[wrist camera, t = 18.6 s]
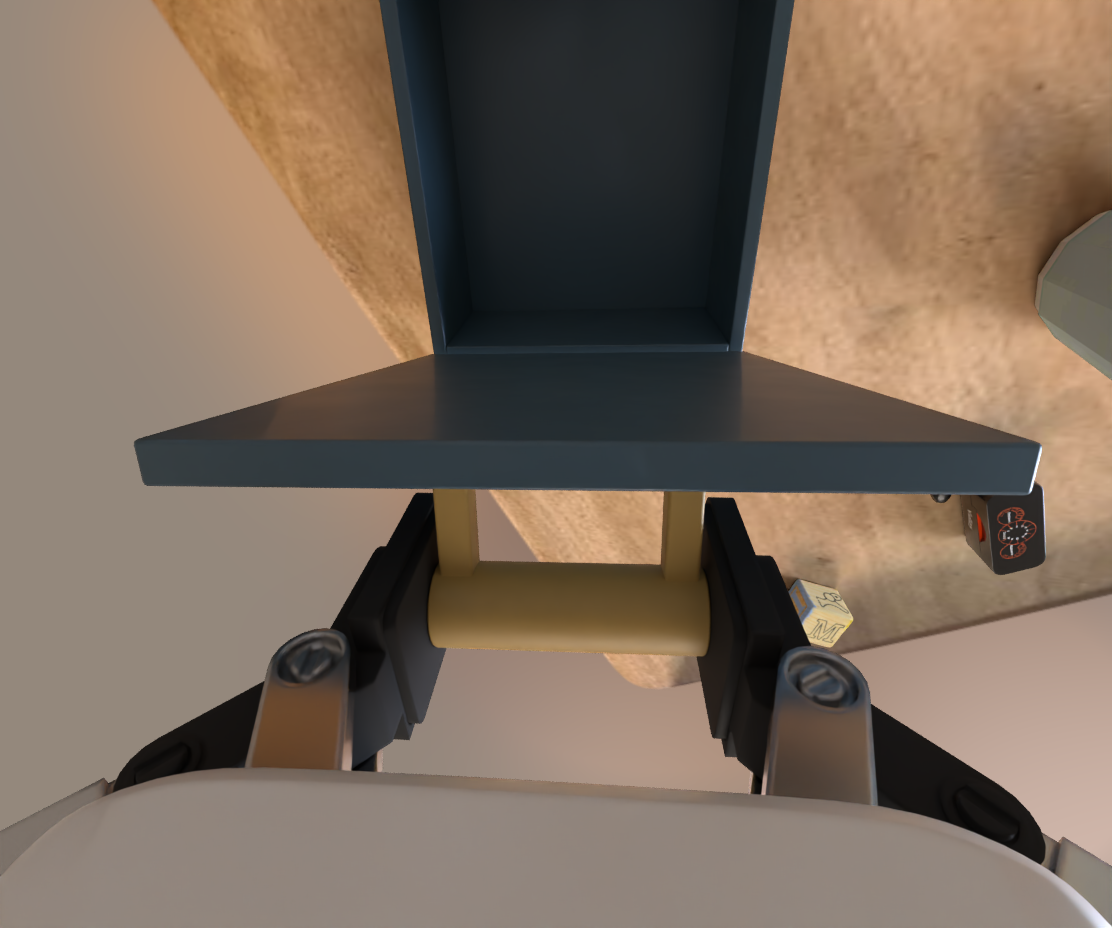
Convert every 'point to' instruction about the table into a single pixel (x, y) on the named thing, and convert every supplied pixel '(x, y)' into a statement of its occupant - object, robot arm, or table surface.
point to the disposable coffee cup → (1081, 292)
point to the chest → (587, 167)
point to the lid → (588, 470)
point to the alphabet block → (820, 612)
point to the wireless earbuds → (1005, 528)
